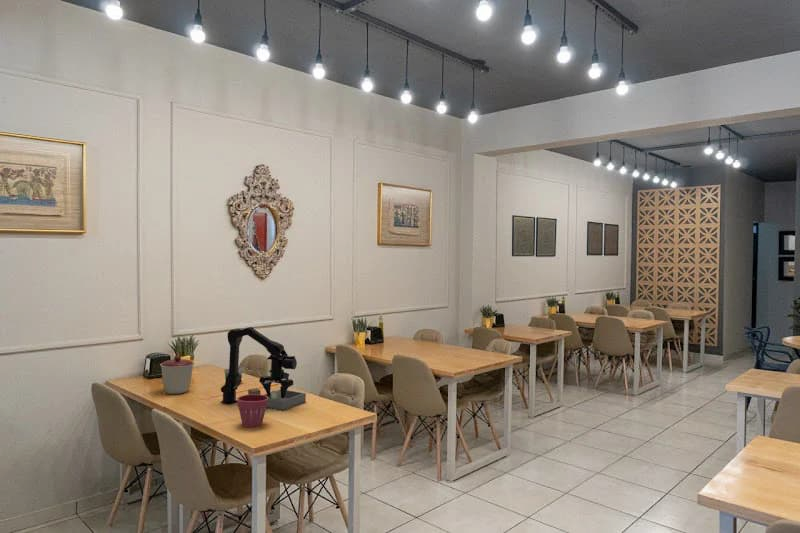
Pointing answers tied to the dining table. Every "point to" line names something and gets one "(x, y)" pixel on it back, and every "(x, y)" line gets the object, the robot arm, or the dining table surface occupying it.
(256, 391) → the walnut cube
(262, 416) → the plant pot
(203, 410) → the dining table surface
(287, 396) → the tote
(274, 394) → the sage cylinder
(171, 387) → the canister
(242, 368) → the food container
